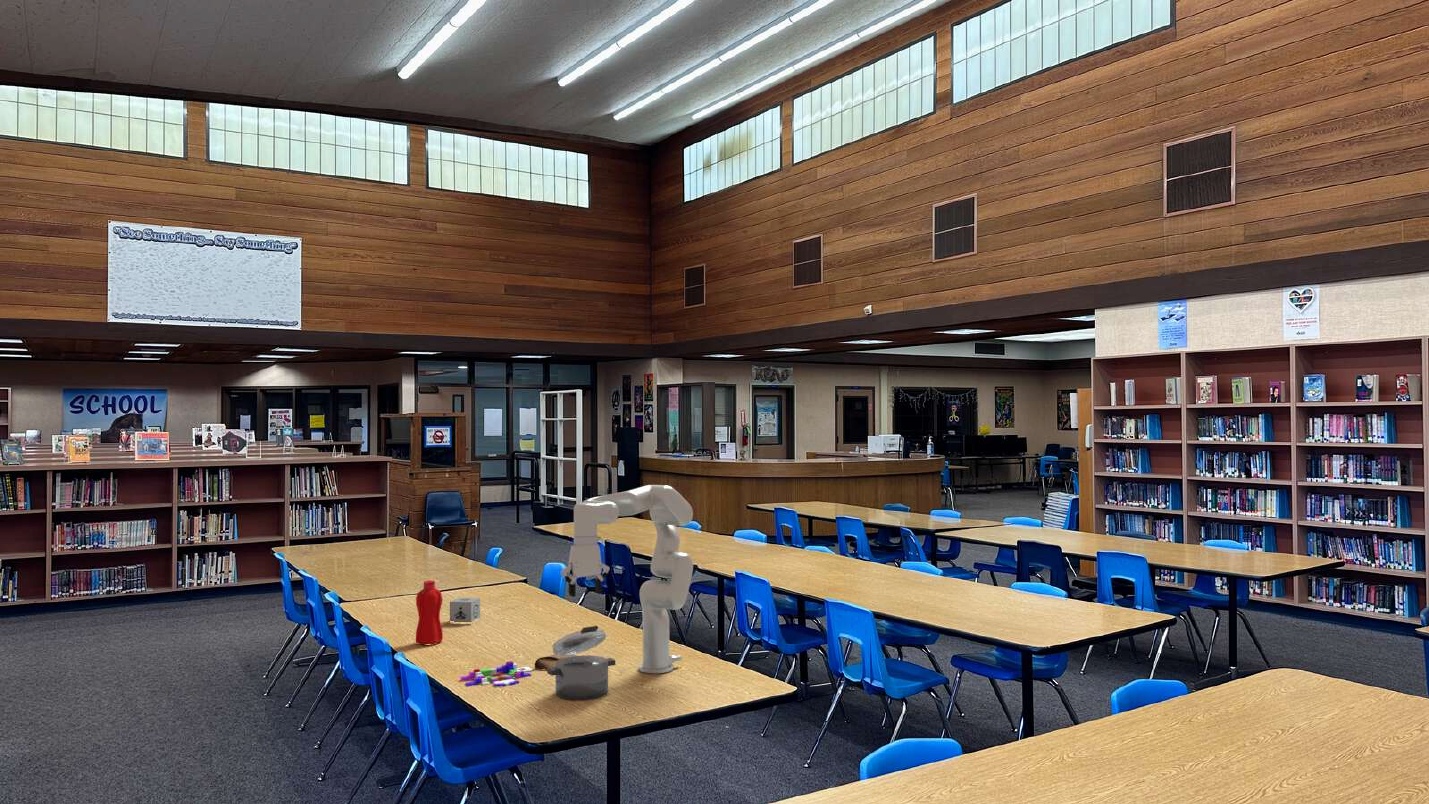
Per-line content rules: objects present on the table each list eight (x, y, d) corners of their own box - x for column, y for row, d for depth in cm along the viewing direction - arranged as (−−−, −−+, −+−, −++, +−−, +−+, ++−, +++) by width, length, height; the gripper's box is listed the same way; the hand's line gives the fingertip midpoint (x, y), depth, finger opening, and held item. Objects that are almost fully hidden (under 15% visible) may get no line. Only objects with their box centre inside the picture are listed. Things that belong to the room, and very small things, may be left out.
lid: (594, 651, 307) (592, 643, 308) (615, 626, 294) (613, 618, 295) (546, 658, 297) (544, 650, 299) (565, 633, 284) (563, 625, 285)
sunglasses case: (550, 671, 319) (544, 654, 322) (538, 679, 323) (532, 661, 325) (586, 661, 334) (579, 644, 336) (574, 668, 337) (567, 651, 340)
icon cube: (459, 619, 408) (459, 597, 408) (480, 620, 407) (480, 597, 407) (449, 624, 398) (449, 601, 399) (471, 625, 397) (471, 602, 397)
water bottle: (409, 645, 360) (409, 582, 360) (427, 639, 370) (427, 578, 370) (427, 647, 356) (428, 584, 357) (446, 641, 366) (446, 579, 367)
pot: (600, 680, 308) (600, 651, 308) (624, 693, 293) (624, 662, 294) (538, 691, 296) (538, 661, 296) (560, 705, 281) (560, 673, 281)
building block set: (474, 693, 297) (474, 679, 297) (456, 678, 314) (456, 665, 314) (545, 681, 310) (545, 668, 310) (524, 667, 328) (524, 655, 328)
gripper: (604, 538, 301) (604, 590, 301) (556, 541, 292) (555, 595, 291) (614, 540, 295) (614, 593, 294) (565, 544, 286) (565, 599, 285)
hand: (585, 594), depth 293 cm, fingers open, 8 cm apart
